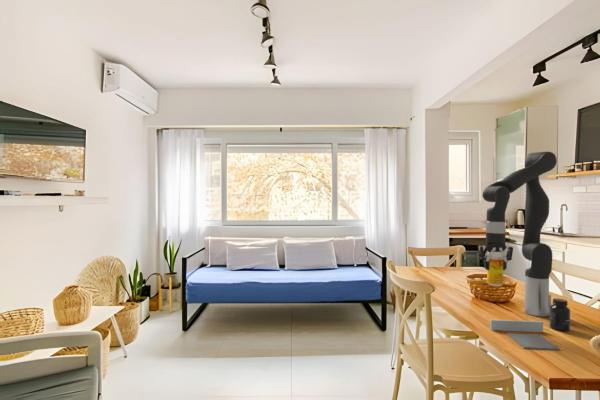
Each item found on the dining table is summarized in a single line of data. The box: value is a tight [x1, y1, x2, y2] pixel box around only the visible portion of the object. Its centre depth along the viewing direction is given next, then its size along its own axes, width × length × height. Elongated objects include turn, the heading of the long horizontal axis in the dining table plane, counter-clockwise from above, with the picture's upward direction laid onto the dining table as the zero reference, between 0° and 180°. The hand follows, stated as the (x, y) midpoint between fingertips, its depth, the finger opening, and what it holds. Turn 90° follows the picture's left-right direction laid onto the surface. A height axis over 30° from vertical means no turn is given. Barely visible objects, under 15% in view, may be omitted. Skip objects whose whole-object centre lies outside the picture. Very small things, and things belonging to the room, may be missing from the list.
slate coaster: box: [506, 332, 560, 351], centre depth 129 cm, size 12×12×1 cm
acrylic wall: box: [489, 318, 544, 333], centre depth 139 cm, size 20×1×4 cm, turn 84°
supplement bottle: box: [549, 298, 571, 332], centre depth 142 cm, size 7×7×12 cm
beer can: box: [486, 251, 504, 287], centre depth 150 cm, size 6×6×15 cm
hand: (495, 269), depth 150 cm, fingers closed on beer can, 6 cm apart
